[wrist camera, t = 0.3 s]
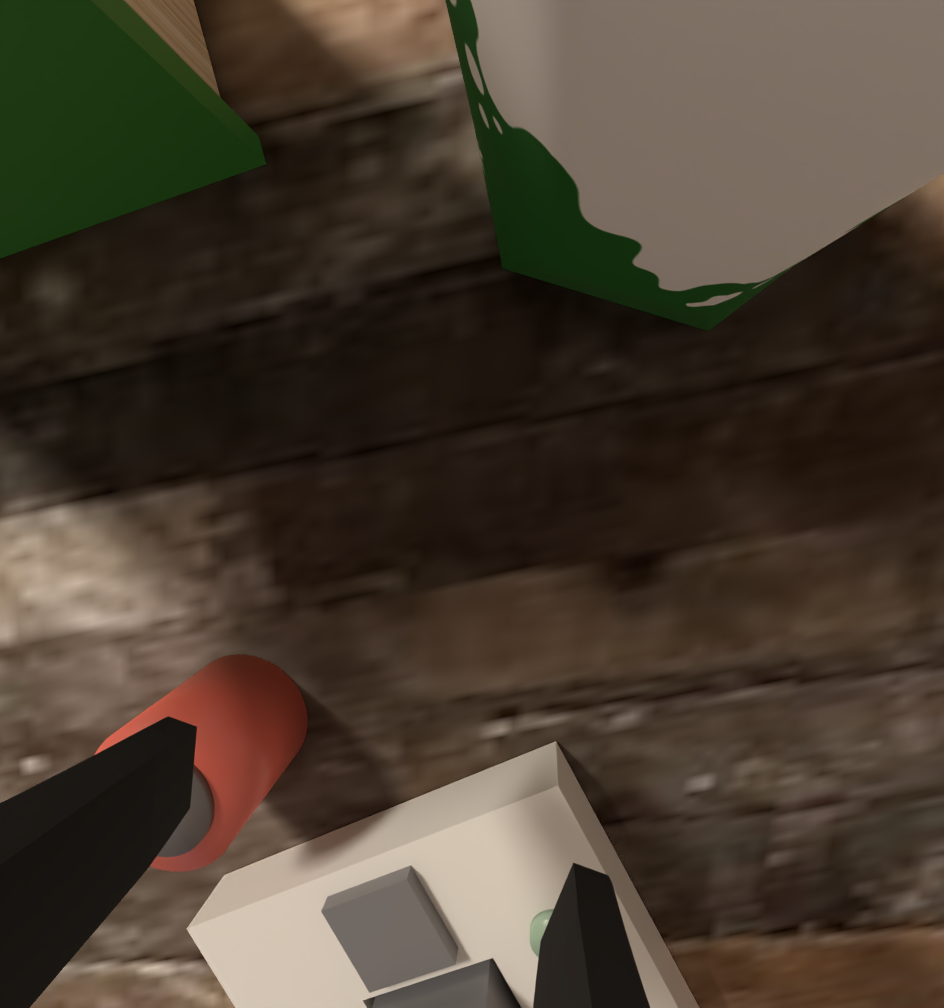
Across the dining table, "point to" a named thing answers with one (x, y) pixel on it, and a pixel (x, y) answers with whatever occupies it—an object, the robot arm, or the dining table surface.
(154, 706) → the cap
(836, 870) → the dining table surface
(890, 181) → the milk carton
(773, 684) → the dining table surface
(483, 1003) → the button
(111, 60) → the hardback book
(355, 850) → the panel
